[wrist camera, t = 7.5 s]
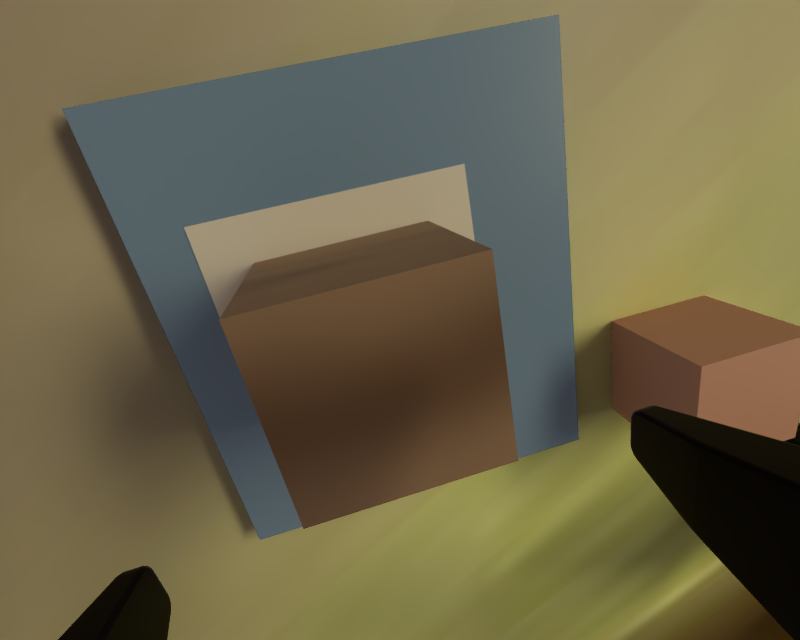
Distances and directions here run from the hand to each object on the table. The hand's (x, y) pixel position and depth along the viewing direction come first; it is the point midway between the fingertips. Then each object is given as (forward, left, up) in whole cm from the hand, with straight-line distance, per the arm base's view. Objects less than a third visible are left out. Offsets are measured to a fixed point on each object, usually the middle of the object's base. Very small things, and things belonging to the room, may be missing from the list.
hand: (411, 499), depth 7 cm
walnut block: (0, 0, -10) cm, 10 cm away
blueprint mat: (0, -1, -10) cm, 10 cm away
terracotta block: (-6, -14, -11) cm, 19 cm away
